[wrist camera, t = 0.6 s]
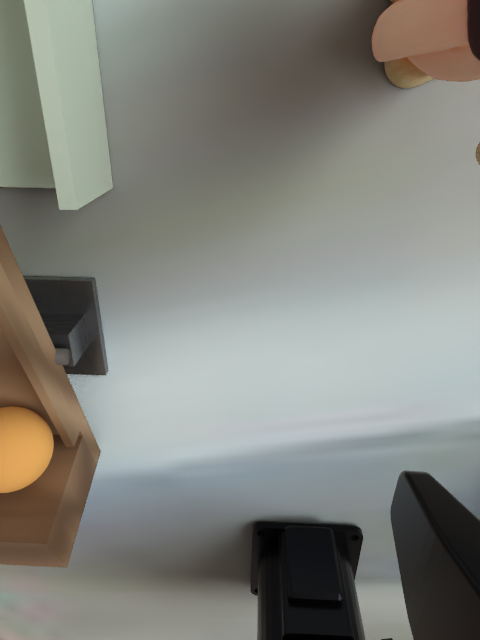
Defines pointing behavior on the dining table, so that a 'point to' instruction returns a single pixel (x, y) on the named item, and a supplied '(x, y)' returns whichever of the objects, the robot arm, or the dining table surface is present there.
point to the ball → (23, 447)
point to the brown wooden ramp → (63, 419)
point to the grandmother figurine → (429, 42)
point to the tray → (52, 101)
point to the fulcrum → (72, 320)
